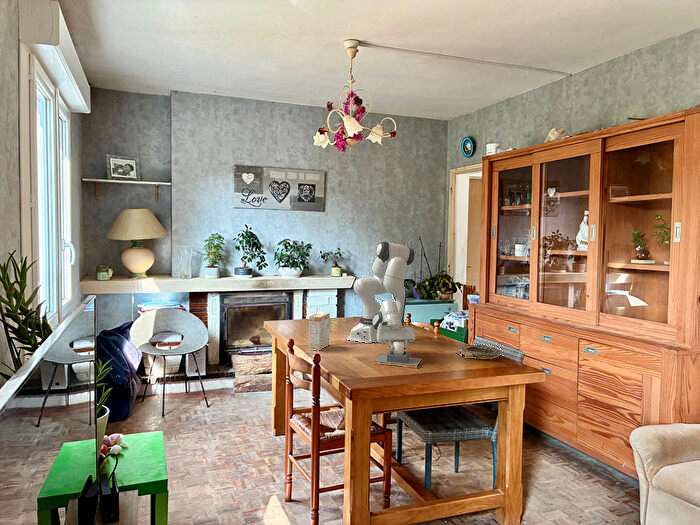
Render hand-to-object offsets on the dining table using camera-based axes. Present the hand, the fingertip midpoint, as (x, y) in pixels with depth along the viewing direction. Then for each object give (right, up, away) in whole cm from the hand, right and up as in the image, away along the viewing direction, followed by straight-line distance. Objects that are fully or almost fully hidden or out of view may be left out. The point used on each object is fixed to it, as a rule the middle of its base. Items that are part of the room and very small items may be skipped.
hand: (398, 348), depth 265 cm
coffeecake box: (-43, -5, +30) cm, 52 cm away
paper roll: (0, -5, +1) cm, 5 cm away
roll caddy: (0, -7, +1) cm, 8 cm away
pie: (+47, -8, +19) cm, 51 cm away
